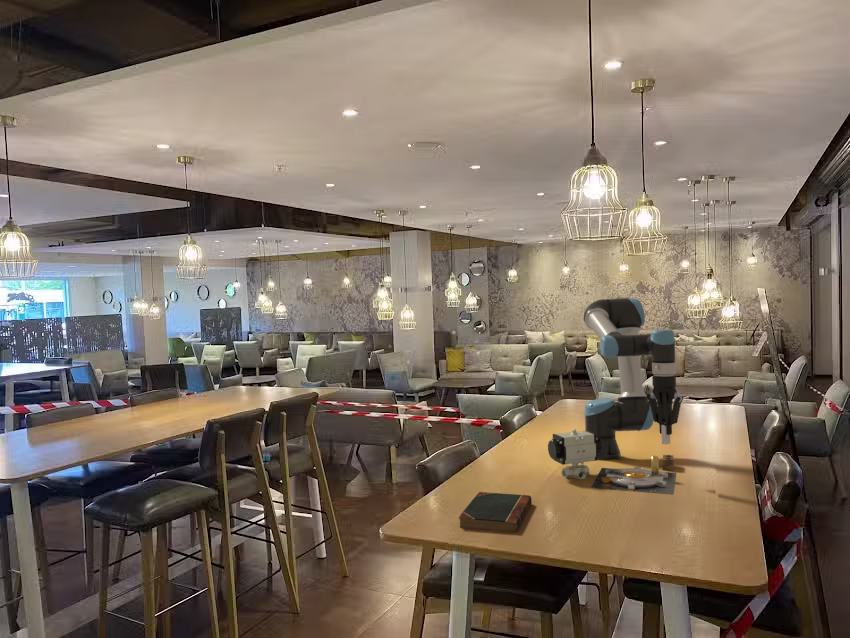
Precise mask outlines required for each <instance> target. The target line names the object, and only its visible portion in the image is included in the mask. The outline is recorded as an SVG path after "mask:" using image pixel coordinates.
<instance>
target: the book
mask: <svg viewBox="0 0 850 638" xmlns="http://www.w3.org/2000/svg"><path fill="white" fill-rule="evenodd" d="M532 502H533V501H532V496H531V495H529V494H527V495H526V494H515V493H514V494H513V493H500V492H498V493H497V492H486V491H478V493H477V494H476V495H475V496H474V498H473V499H472V500H471V501H470V503H469V504H468V505H467V506H466V507H465V508H464V510H463V511H462V512H461V513H460V515H459V517H458V519H459V528H461V529H462V528H465V529H474V530H475V529H476V530H477V529H478V530H488V531H498V532H499V531H500V532H511V533H512V532H513V533H517V532H518V530H519V529H520V527H521V525H522V523H523V521H524V519H525V517H526V515H527V514H528V511H529V510H530V507H531V505H532Z"/></svg>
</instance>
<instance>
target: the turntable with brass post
mask: <svg viewBox="0 0 850 638" xmlns="http://www.w3.org/2000/svg"><path fill="white" fill-rule="evenodd" d="M650 463H651V464H650V465H651V467H650V468H651V469H646V468H641V466H634V467H624V468H611V469H605V473H606V474H607V477H601V481H602V482H603V483H609V482H611V483H613V484H616V485H620V486H625V487H628V489H633V490H634V489H635V488H645V487H654V486H659V487H665V486H666V481H663V478H668V474H667V473H666V472H667V471H660V467H659V466H660V465H659V456H658V455H651V456H650ZM614 469H615V470H614ZM659 472H661V473H659Z"/></svg>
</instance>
